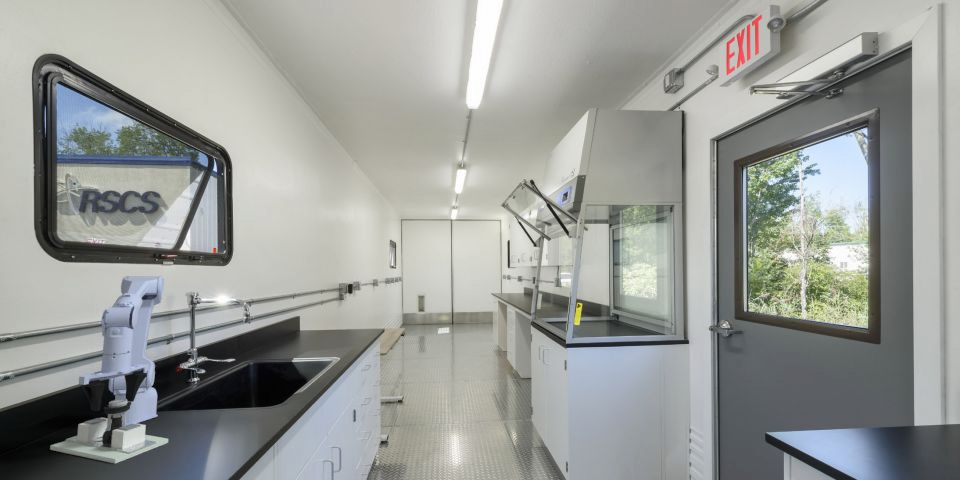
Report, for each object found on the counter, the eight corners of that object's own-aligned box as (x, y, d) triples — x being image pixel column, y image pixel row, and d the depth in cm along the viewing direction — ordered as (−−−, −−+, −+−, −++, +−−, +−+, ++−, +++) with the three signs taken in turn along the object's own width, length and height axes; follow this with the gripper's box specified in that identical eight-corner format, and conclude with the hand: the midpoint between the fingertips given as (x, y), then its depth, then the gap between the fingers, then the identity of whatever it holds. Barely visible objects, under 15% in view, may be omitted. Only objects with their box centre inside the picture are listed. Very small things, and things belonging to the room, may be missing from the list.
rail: (93, 431, 109) (93, 430, 109) (156, 443, 102) (156, 441, 102) (65, 440, 103) (65, 439, 103) (129, 453, 96) (130, 451, 96)
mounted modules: (100, 432, 108) (101, 416, 108) (144, 440, 103) (145, 423, 103) (77, 440, 103) (78, 423, 103) (122, 449, 98) (123, 431, 98)
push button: (91, 448, 98) (95, 407, 99) (95, 440, 102) (99, 401, 103) (127, 441, 102) (130, 402, 103) (130, 434, 106) (132, 396, 107)
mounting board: (106, 431, 112) (106, 427, 112) (168, 442, 105) (168, 438, 105) (50, 449, 100) (50, 445, 100) (115, 463, 93) (115, 459, 94)
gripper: (94, 359, 96) (89, 417, 95) (157, 348, 110) (154, 398, 109) (75, 357, 98) (70, 413, 97) (139, 347, 112) (136, 396, 111)
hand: (113, 405), depth 103 cm, fingers open, 7 cm apart
